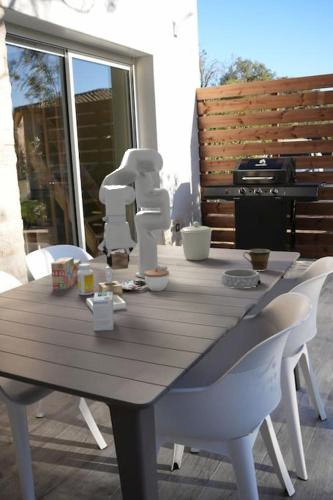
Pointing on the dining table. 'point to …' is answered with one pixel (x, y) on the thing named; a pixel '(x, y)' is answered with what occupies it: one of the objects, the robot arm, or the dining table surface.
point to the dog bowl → (240, 278)
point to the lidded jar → (156, 279)
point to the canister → (196, 241)
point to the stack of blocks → (64, 272)
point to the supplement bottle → (85, 280)
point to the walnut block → (119, 260)
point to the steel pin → (108, 276)
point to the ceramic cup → (259, 258)
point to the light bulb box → (103, 311)
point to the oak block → (111, 288)
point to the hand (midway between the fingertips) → (118, 264)
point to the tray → (117, 303)
